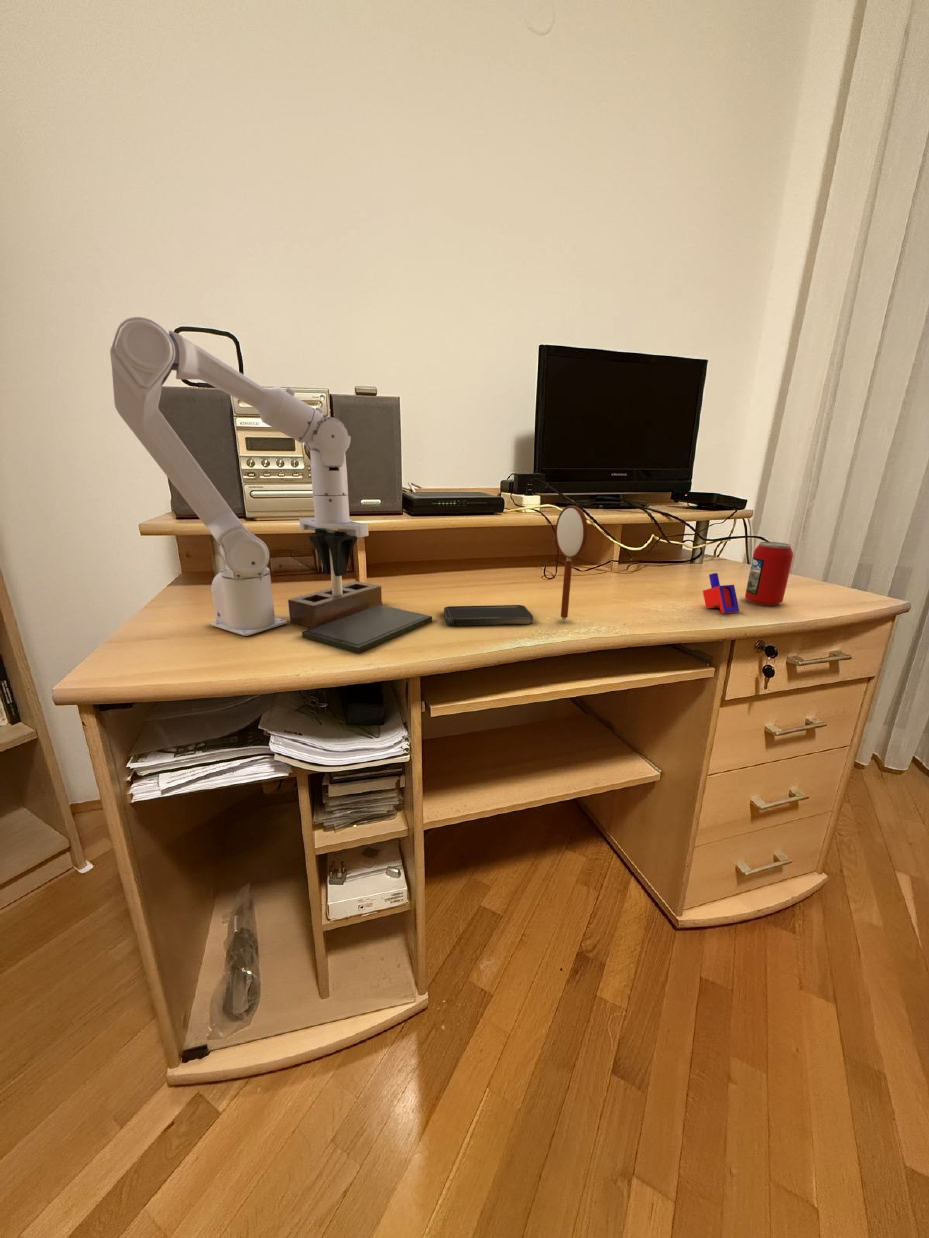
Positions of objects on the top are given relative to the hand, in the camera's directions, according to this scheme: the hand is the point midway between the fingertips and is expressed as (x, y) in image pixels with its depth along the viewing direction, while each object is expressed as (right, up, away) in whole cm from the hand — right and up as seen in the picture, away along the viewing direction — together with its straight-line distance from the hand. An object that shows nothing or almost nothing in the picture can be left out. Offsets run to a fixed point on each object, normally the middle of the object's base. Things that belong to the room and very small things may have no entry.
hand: (336, 574), depth 86 cm
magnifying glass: (+40, -9, 0) cm, 41 cm away
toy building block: (+72, -6, +9) cm, 73 cm away
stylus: (0, -5, +2) cm, 5 cm away
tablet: (+7, -10, -5) cm, 13 cm away
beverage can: (+84, -5, +14) cm, 85 cm away
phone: (+27, -8, +1) cm, 28 cm away
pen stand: (0, -7, +2) cm, 7 cm away
